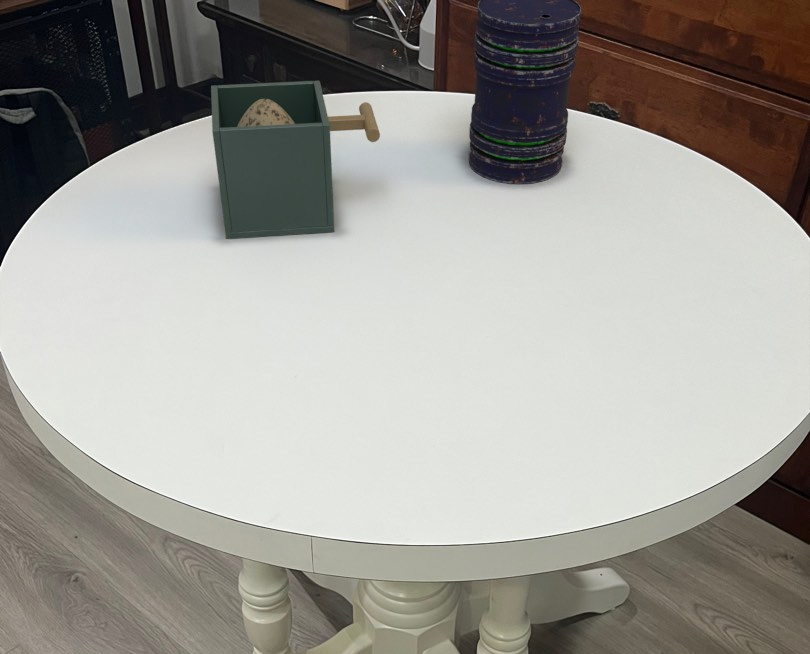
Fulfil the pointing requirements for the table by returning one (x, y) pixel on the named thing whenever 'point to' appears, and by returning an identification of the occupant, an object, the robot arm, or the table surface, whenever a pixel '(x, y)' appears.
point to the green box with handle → (278, 159)
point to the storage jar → (522, 88)
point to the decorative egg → (265, 114)
